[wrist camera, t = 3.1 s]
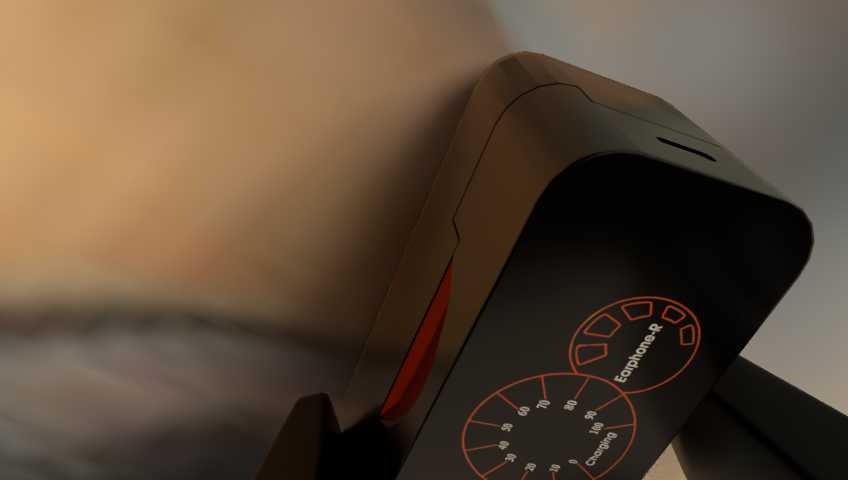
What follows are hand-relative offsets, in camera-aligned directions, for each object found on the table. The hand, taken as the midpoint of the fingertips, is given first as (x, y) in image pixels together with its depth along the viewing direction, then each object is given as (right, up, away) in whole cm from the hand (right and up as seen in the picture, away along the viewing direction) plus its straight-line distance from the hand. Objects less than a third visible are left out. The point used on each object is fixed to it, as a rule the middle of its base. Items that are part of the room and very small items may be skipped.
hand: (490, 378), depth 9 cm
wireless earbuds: (0, +1, +1) cm, 1 cm away
